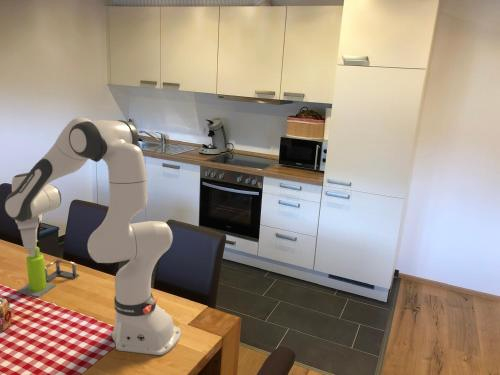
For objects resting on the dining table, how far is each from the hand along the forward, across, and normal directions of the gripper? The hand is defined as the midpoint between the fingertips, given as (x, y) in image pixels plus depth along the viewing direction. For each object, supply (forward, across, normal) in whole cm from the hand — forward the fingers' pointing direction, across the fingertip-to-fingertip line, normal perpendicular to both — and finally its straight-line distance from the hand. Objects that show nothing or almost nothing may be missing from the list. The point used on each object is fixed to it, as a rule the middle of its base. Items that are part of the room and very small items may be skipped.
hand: (32, 250), depth 156 cm
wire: (+16, -6, +9) cm, 19 cm away
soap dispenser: (+16, 0, 0) cm, 16 cm away
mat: (+17, -1, 0) cm, 17 cm away
